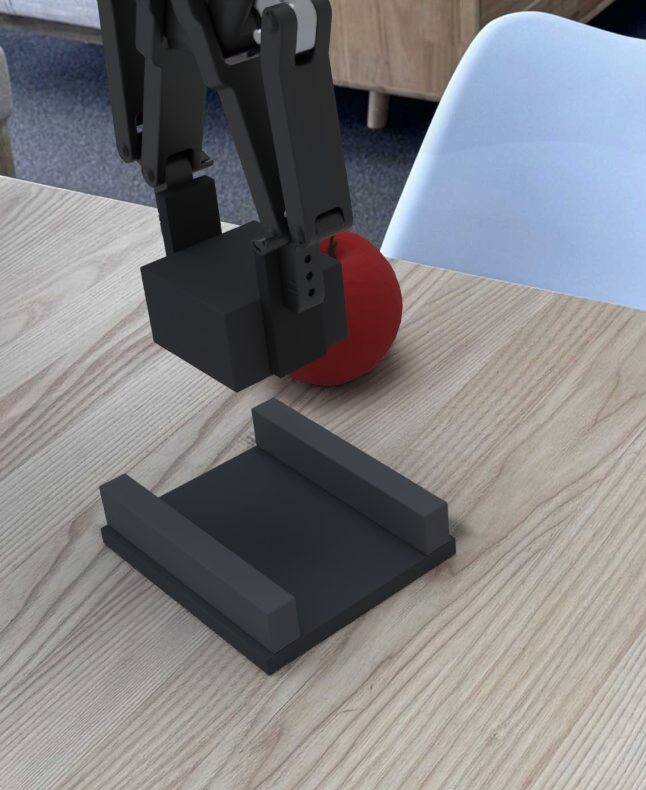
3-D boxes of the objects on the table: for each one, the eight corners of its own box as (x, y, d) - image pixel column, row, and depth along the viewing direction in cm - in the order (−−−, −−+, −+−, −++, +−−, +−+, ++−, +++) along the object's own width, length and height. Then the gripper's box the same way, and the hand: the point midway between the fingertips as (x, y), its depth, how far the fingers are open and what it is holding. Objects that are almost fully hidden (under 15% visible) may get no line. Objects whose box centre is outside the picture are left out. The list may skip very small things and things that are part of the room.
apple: (272, 328, 91) (254, 187, 85) (411, 327, 91) (402, 185, 85) (249, 408, 83) (228, 258, 77) (401, 406, 83) (391, 256, 77)
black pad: (152, 342, 65) (138, 266, 63) (264, 292, 69) (254, 219, 67) (236, 393, 62) (224, 315, 59) (349, 337, 65) (342, 261, 63)
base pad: (103, 542, 73) (90, 489, 71) (285, 444, 80) (279, 393, 78) (269, 675, 64) (260, 619, 63) (456, 553, 72) (453, 498, 70)
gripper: (426, -174, 49) (452, 379, 62) (119, -233, 61) (195, 244, 73) (253, -136, 45) (320, 452, 57) (-43, -207, 56) (68, 296, 69)
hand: (250, 335), depth 65 cm, fingers closed on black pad, 6 cm apart
